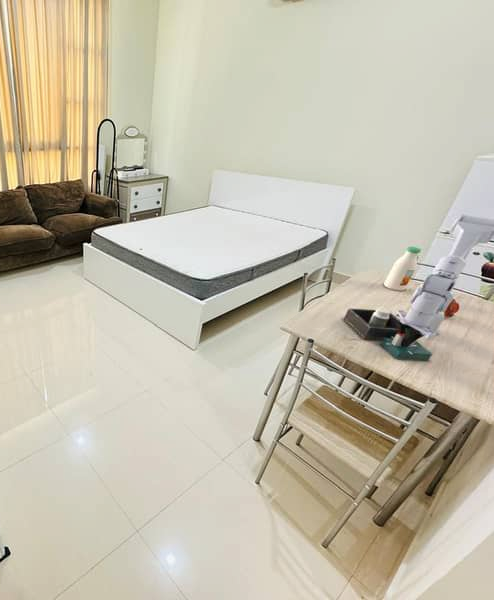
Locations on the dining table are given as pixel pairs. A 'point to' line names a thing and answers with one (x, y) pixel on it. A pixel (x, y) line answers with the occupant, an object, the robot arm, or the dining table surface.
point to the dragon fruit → (451, 308)
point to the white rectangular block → (399, 340)
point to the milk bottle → (403, 270)
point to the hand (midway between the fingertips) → (402, 343)
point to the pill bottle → (379, 318)
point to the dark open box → (360, 324)
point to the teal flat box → (406, 350)
